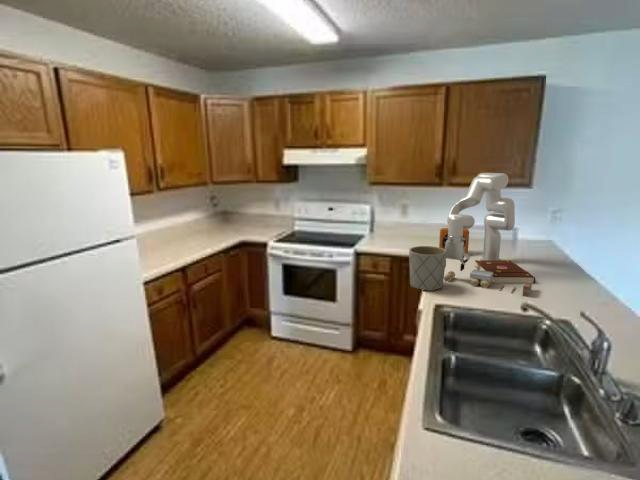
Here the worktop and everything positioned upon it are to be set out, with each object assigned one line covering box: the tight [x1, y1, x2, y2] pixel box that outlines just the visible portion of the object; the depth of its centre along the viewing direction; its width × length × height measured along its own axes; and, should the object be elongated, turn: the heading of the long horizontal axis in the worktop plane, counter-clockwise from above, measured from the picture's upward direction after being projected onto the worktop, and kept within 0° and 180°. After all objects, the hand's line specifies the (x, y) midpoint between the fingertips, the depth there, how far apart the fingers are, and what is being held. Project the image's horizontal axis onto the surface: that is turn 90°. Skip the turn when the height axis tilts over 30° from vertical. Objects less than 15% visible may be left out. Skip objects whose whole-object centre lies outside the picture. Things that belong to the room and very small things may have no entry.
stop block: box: [522, 280, 533, 298], centre depth 191 cm, size 12×2×5 cm, turn 145°
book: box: [474, 259, 536, 284], centre depth 220 cm, size 23×32×5 cm
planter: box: [408, 245, 447, 292], centre depth 202 cm, size 19×19×20 cm
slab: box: [469, 269, 494, 281], centre depth 203 cm, size 8×10×2 cm
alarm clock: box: [438, 226, 470, 255], centre depth 262 cm, size 18×9×21 cm, turn 76°
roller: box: [443, 270, 456, 283], centre depth 213 cm, size 8×4×4 cm
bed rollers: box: [470, 278, 517, 294], centre depth 200 cm, size 9×21×4 cm, turn 55°
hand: (452, 268), depth 211 cm, fingers open, 9 cm apart
